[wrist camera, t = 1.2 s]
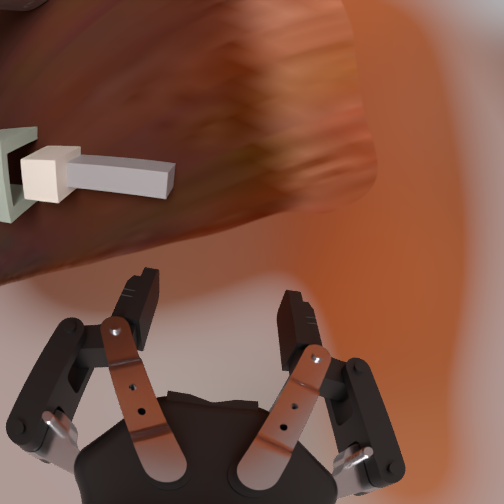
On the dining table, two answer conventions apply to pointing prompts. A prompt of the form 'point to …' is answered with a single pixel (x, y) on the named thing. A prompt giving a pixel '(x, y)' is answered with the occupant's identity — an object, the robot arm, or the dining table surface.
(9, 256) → the dining table surface
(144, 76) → the dining table surface
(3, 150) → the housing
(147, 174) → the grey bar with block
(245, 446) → the robot arm
